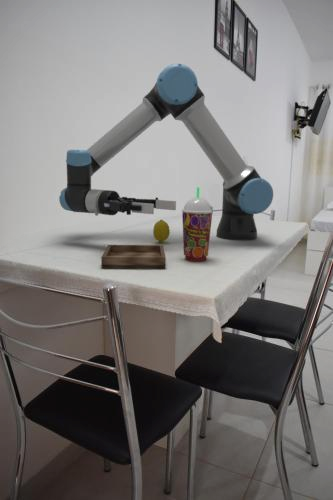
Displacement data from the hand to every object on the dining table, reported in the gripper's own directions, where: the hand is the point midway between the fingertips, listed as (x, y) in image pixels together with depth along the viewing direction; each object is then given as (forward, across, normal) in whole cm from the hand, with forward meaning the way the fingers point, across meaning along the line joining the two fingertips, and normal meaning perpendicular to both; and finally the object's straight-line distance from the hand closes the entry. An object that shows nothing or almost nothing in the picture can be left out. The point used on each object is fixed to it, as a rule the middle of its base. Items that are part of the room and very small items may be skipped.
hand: (164, 207), depth 111 cm
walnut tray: (-3, +11, -14) cm, 18 cm away
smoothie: (+10, 0, -14) cm, 17 cm away
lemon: (-10, -17, -14) cm, 24 cm away
